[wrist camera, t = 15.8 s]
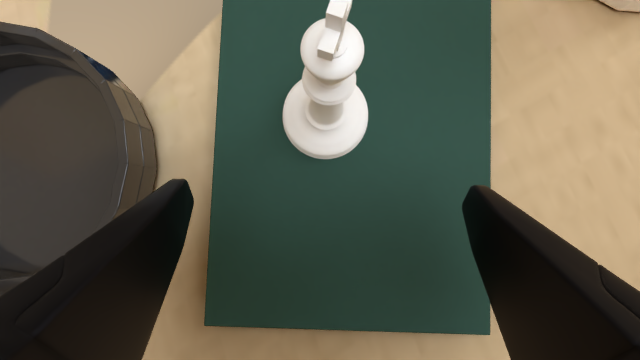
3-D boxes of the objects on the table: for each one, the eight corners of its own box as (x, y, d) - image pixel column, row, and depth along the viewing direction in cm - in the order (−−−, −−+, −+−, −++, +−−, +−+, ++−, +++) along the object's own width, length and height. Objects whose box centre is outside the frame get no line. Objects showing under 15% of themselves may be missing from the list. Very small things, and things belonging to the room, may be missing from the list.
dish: (131, 307, 17) (91, 331, 14) (-110, 265, 17) (-200, 279, 14) (180, 73, 18) (153, 48, 15) (-49, 32, 18) (-122, -1, 15)
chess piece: (270, 143, 17) (207, 67, 7) (298, 64, 17) (275, -114, 7) (352, 170, 17) (401, 133, 7) (378, 91, 17) (462, -51, 7)
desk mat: (484, 330, 17) (490, 335, 17) (207, 321, 17) (203, 326, 17) (485, -2, 18) (491, -8, 18) (226, -13, 18) (223, -20, 18)
